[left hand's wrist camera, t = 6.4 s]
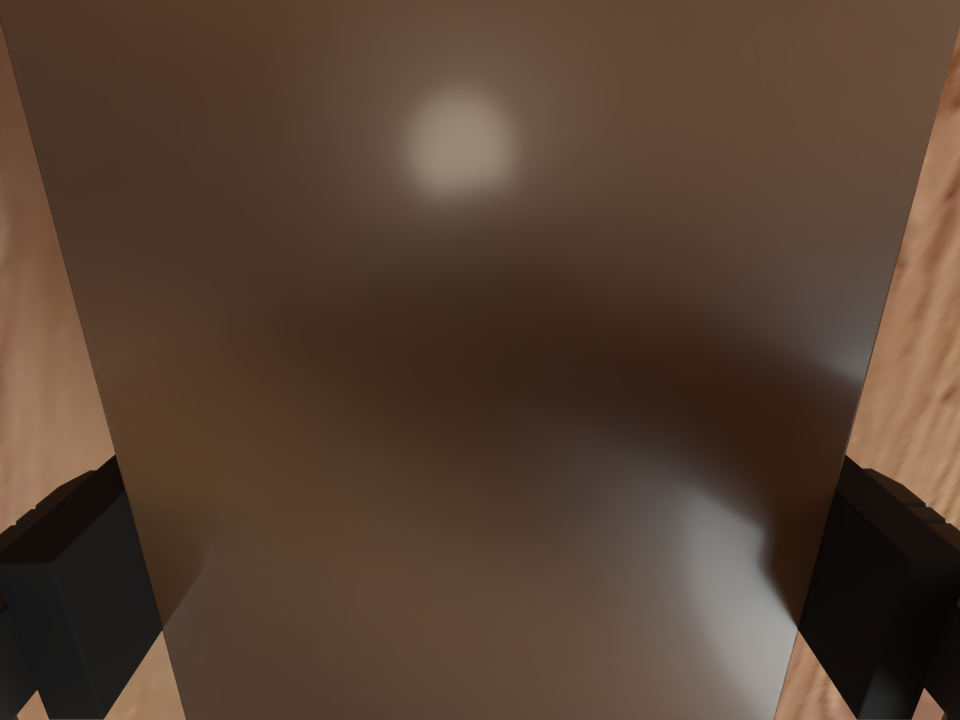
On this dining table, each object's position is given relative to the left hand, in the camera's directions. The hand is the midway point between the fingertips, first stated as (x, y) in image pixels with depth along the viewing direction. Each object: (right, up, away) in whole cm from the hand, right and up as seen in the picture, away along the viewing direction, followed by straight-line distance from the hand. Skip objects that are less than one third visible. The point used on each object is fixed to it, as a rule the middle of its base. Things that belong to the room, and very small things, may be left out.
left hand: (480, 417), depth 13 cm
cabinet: (0, +5, +1) cm, 5 cm away
